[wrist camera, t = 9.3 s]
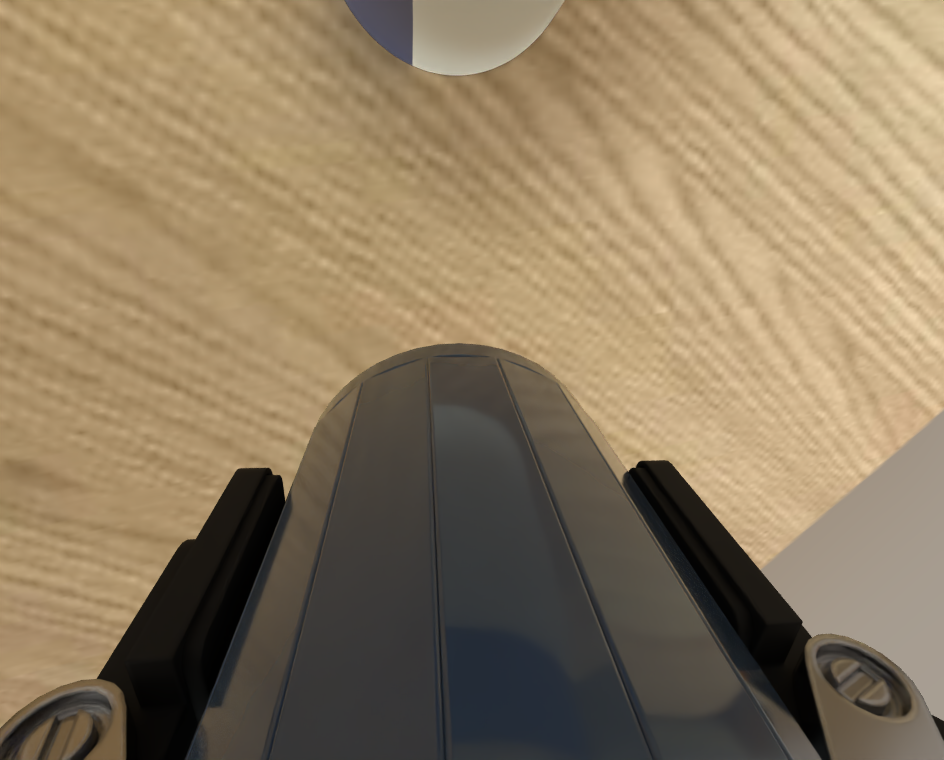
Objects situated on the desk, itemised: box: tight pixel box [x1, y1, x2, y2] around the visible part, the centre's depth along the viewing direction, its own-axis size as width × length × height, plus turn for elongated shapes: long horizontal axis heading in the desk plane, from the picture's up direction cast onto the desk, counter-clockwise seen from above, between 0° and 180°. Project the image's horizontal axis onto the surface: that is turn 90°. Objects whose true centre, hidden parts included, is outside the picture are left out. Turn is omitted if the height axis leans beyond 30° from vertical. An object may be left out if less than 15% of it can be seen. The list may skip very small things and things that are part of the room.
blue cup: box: [185, 343, 822, 760], centre depth 8 cm, size 7×7×8 cm
